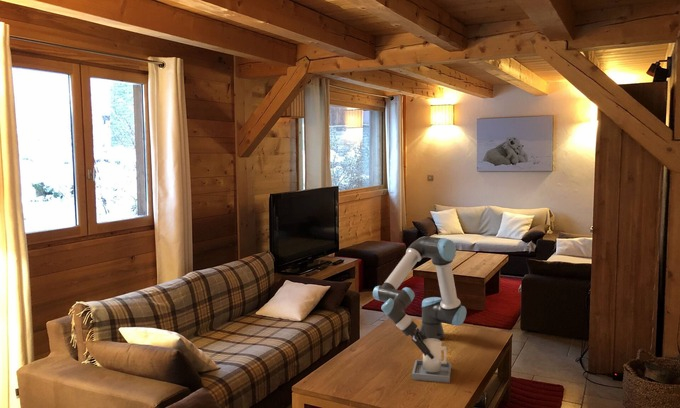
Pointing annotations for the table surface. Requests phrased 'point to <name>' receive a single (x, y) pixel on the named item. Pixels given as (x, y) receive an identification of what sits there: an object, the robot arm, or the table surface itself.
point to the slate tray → (431, 373)
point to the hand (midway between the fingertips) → (438, 358)
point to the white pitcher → (435, 348)
